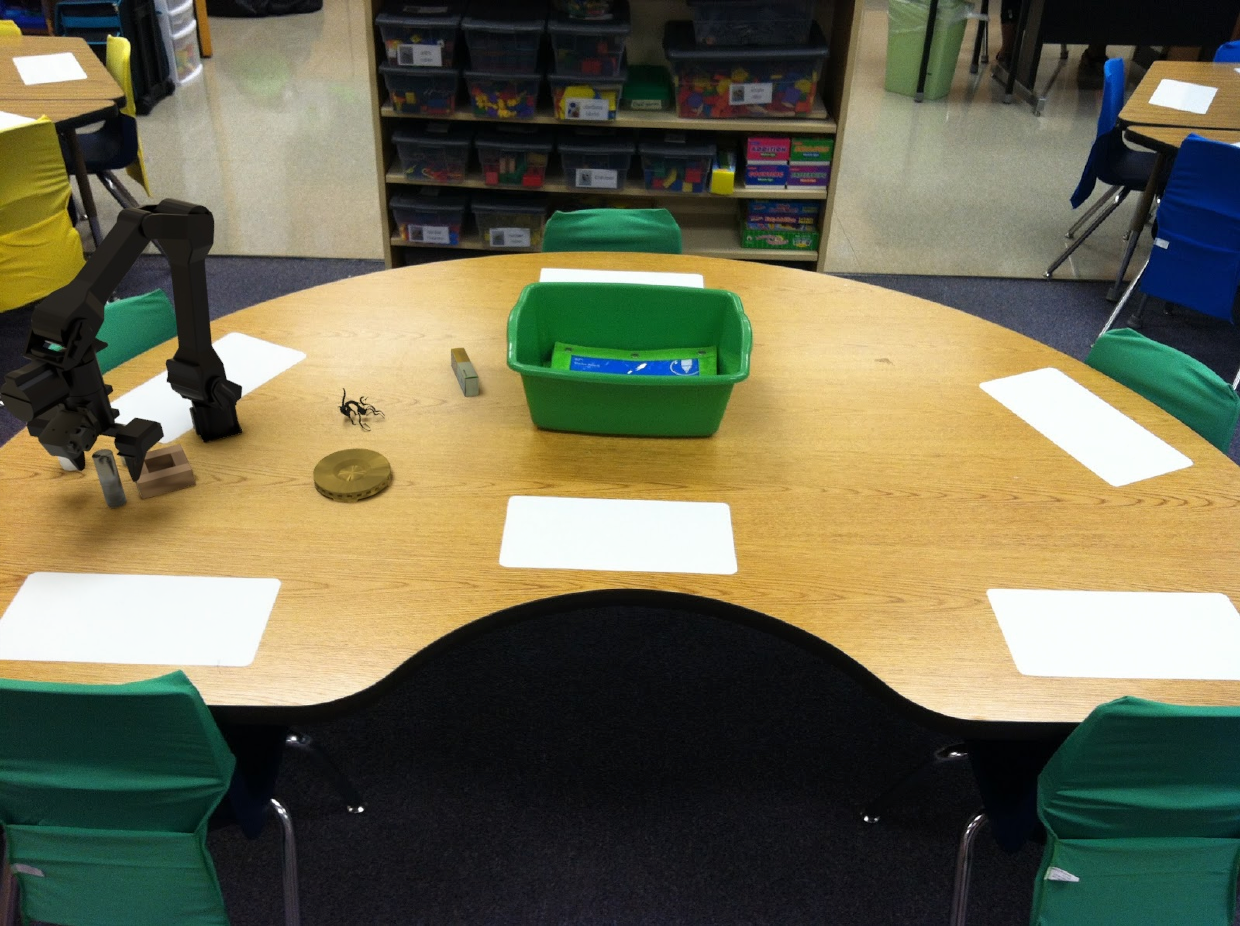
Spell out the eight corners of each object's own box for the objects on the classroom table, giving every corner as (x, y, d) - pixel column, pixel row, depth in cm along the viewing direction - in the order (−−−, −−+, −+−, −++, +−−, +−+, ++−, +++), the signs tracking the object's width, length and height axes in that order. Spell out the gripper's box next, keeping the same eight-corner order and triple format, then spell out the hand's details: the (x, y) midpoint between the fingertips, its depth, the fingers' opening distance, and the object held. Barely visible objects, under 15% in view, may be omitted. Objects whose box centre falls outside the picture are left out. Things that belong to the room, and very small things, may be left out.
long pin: (124, 494, 161) (110, 447, 156) (128, 504, 159) (114, 456, 154) (105, 500, 160) (90, 452, 154) (108, 510, 158) (93, 461, 152)
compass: (299, 480, 166) (298, 469, 165) (362, 450, 174) (360, 439, 172) (343, 513, 160) (342, 502, 159) (406, 481, 167) (405, 470, 166)
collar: (184, 458, 169) (180, 443, 167) (196, 484, 164) (192, 469, 162) (132, 472, 166) (127, 456, 164) (142, 499, 160) (137, 483, 158)
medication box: (479, 396, 189) (479, 377, 187) (465, 398, 188) (464, 379, 186) (464, 364, 198) (463, 346, 196) (450, 366, 197) (449, 347, 195)
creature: (386, 413, 185) (340, 404, 183) (390, 387, 182) (344, 379, 180) (381, 437, 179) (333, 429, 177) (385, 412, 176) (337, 403, 174)
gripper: (-16, 404, 142) (17, 495, 152) (104, 427, 139) (131, 518, 148) (39, 365, 151) (68, 453, 160) (154, 386, 148) (176, 474, 157)
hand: (109, 475), depth 156 cm, fingers open, 9 cm apart
